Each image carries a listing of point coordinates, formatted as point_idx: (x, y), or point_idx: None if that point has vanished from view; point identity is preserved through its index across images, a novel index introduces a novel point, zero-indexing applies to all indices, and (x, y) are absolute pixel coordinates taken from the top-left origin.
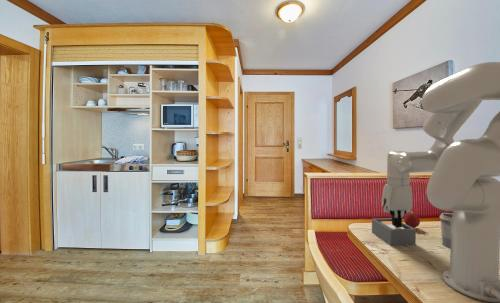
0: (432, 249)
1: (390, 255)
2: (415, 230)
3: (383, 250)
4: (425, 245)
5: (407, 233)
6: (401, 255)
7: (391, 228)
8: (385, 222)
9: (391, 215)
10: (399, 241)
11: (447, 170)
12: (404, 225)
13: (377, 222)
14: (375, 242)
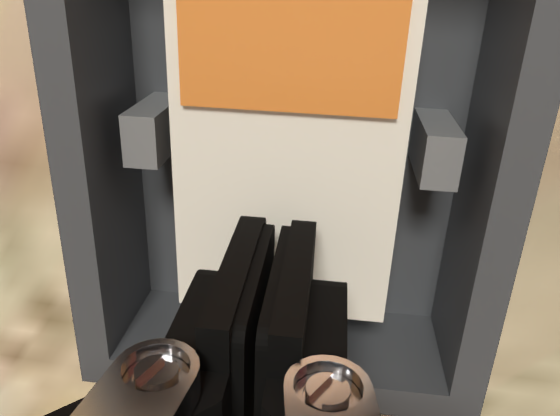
0: (516, 381)
1: (57, 393)
2: (471, 409)
3: (39, 323)
4: (536, 311)
5: None
6: None
7: (179, 266)
8: (227, 24)
9: (142, 358)
10: None
11: None
12: (480, 233)
13: (35, 36)
14: (36, 173)
